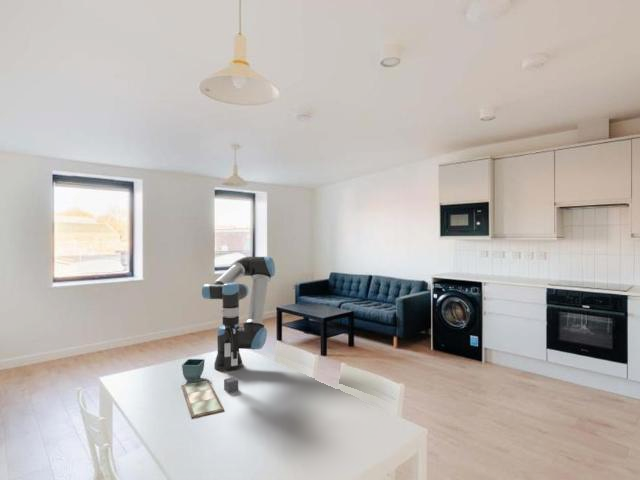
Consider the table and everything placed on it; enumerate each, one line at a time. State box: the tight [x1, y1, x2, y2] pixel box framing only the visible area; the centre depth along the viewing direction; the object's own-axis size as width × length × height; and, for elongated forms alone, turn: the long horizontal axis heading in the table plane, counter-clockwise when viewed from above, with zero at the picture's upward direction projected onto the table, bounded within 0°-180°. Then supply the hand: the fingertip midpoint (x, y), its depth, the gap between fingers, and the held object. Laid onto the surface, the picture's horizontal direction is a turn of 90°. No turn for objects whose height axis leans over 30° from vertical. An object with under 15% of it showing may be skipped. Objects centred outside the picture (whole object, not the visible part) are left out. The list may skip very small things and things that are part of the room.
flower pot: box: [181, 358, 205, 382], centre depth 183 cm, size 9×9×9 cm
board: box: [181, 380, 225, 419], centre depth 163 cm, size 13×34×1 cm, turn 27°
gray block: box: [223, 376, 239, 394], centre depth 171 cm, size 5×5×5 cm
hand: (230, 360), depth 171 cm, fingers open, 13 cm apart
